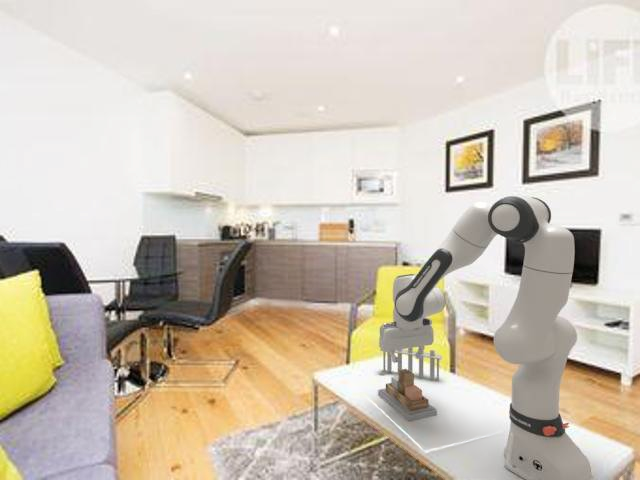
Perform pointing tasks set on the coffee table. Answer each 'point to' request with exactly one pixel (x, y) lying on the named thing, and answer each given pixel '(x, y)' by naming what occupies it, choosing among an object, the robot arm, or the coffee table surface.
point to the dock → (403, 410)
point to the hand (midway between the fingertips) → (407, 360)
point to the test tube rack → (410, 353)
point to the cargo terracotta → (413, 393)
